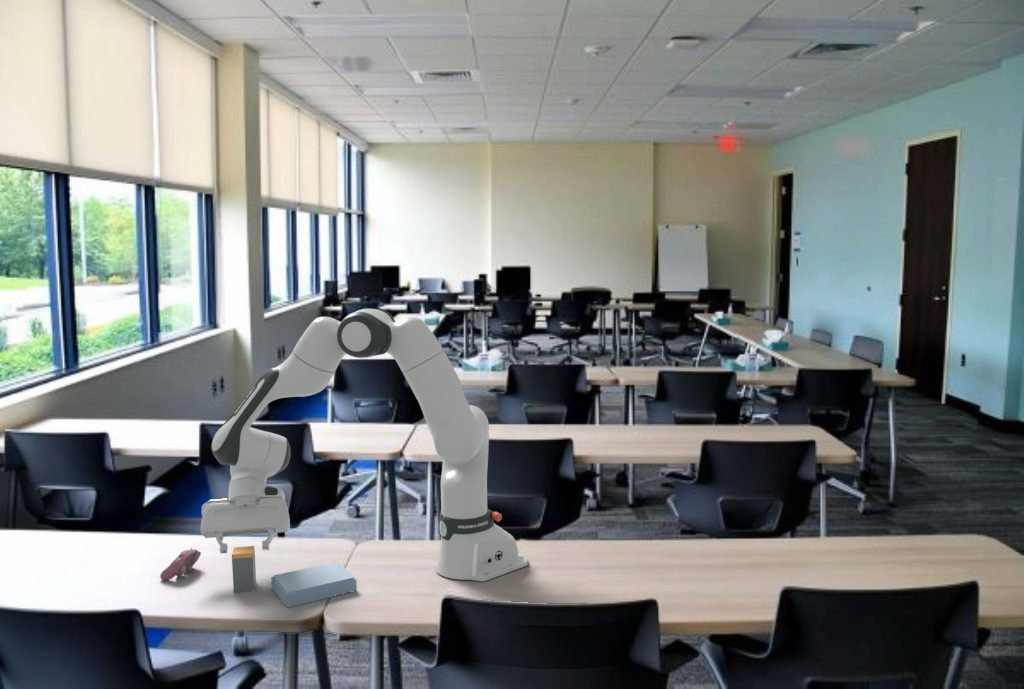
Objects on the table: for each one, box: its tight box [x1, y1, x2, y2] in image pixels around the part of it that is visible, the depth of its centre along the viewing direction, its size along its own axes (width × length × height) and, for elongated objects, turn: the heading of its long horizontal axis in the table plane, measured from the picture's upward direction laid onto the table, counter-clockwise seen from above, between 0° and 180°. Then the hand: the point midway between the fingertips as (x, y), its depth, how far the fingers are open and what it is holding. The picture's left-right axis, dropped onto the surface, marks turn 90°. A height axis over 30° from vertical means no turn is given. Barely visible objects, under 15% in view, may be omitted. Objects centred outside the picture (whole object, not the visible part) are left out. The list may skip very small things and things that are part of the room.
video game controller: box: [159, 547, 202, 582], centre depth 200 cm, size 10×5×7 cm, turn 169°
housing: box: [231, 545, 257, 593], centre depth 192 cm, size 4×4×9 cm
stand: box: [270, 561, 358, 609], centre depth 190 cm, size 16×12×3 cm
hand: (244, 550), depth 194 cm, fingers open, 8 cm apart
